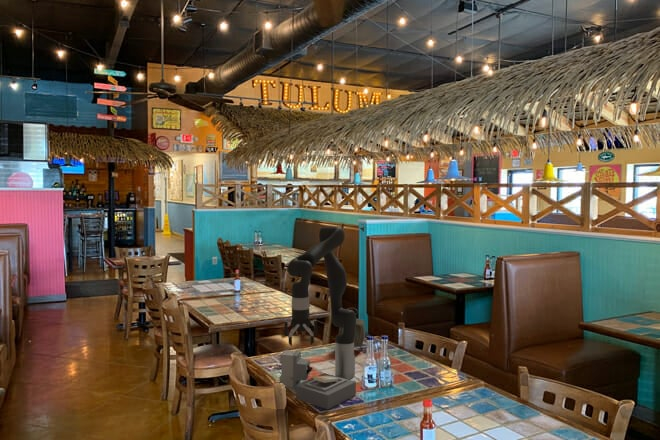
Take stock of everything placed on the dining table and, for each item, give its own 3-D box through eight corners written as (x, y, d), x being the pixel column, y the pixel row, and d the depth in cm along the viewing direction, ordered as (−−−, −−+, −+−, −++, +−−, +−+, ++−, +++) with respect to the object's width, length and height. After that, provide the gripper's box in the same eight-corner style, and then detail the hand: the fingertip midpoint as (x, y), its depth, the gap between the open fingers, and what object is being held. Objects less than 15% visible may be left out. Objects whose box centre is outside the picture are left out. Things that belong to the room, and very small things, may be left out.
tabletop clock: (365, 349, 294) (365, 306, 293) (363, 353, 285) (363, 310, 284) (340, 347, 297) (340, 305, 296) (338, 352, 288) (338, 308, 287)
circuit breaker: (309, 388, 232) (309, 356, 231) (279, 386, 234) (279, 354, 234) (313, 383, 239) (313, 351, 238) (284, 380, 242) (284, 349, 241)
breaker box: (324, 385, 235) (324, 371, 235) (355, 395, 224) (355, 379, 224) (295, 398, 220) (295, 383, 219) (328, 409, 209) (328, 393, 208)
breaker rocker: (327, 378, 227) (327, 375, 228) (338, 381, 224) (338, 378, 224) (313, 379, 220) (313, 376, 220) (324, 382, 216) (324, 379, 216)
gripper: (316, 304, 218) (317, 341, 219) (283, 305, 217) (284, 343, 217) (318, 308, 211) (318, 346, 212) (283, 309, 209) (284, 348, 210)
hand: (301, 344), depth 215 cm, fingers open, 8 cm apart
